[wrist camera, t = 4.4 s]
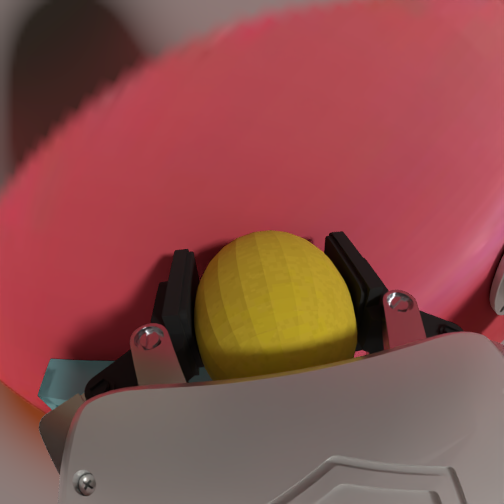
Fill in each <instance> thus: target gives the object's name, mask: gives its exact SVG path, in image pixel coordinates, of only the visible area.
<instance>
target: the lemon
mask: <svg viewBox="0 0 504 504" xmlns="http://www.w3.org/2000/svg"><path fill="white" fill-rule="evenodd" d="M194 328H195V334H196V339H197V343H198V348H199V352H200V355H201V359H202V362H203V364H204V367H205V369H206V371H207V372H208V374H209V376H210V378H211V379H212V380H213V381H217V380H227V379H237V378H245V377H253V376H261V375H268V374H274V373H281V372H287V371H293V370H299V369H304V368H310V367H315V366H320V365H325V364H330V363H334V362H339V361H343V360H348V359H352V358H354V354H355V349H356V344H357V324H356V318H355V313H354V308H353V304H352V300H351V296H350V293H349V290H348V288H347V285H346V283H345V281H344V279H343V278H342V276H341V275H340V273H339V272H338V270H337V269H336V267H335V266H334V264H333V263H332V261H331V260H330V259H329V258H328V256H327V255H325V254H324V253H323V252H322V251H321V250H320V249H318V248H317V247H316V246H314V245H313V244H312V243H310V242H309V241H307V240H306V239H304V238H301V237H298V236H296V235H293V234H290V233H288V232H281V231H272V230H269V231H260V232H253V233H250V234H247V235H245V236H242V237H239V238H237V239H235V240H234V241H232V242H231V243H229V244H228V245H226V246H224V247H223V248H222V249H221V250H220V251H219V252H218V254H217V255H216V256H215V257H214V258H213V259H212V260H211V261H210V263H209V264H208V266H207V268H206V270H205V272H204V274H203V276H202V278H201V280H200V282H199V285H198V289H197V294H196V300H195V307H194Z"/></svg>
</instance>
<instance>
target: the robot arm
mask: <svg viewBox="0 0 504 504" xmlns="http://www.w3.org/2000/svg"><path fill="white" fill-rule="evenodd" d="M324 254H325V255H327V256H328V258H329V259H330V260H331V261H332V263H333V264H334V266H335V267H336V269H337V270H338V272H339V273H340V275H341V276H342V278H343V279H344V281H345V283H346V285H347V288H348V290H349V293H350V296H351V300H352V304H353V308H354V313H355V318H356V324H357V344H356V349H355V351H360V350H364V351H366V355H364V356H360V357H356V358H352V359H348V360H343V361H339V362H334V363H330V364H325V365H320V366H315V367H310V368H304V369H299V370H293V371H287V372H281V373H274V374H268V375H261V376H253V377H245V378H237V379H227V380H217V381H205V382H192V383H189V380H190V379H191V378H192V377H194V376H197V375H199V368H201V367H204V364H203V362H202V359H201V355H200V352H199V348H198V343H197V339H196V334H195V328H194V307H195V300H196V294H197V289H198V285H199V282H200V281H199V276H198V272H197V267H196V262H195V257H194V253H193V252H189V251H188V249H183V250H175V252H174V256H173V261H172V266H171V270H170V275H169V280H168V281H166V282H160V283H159V286H158V291H157V295H156V299H155V304H154V309H153V313H152V318H151V323H150V324H145V325H143V326H140V327H139V328H138V329H136V330H135V331H134V332H133V334H132V335H131V338H130V347H131V350H129V351H128V352H127V353H125V354H124V355H122V356H121V357H120V358H118V359H117V360H116V361H114V362H113V363H112V364H110V365H109V366H108V367H106V368H105V369H103V370H102V371H101V372H99V373H98V374H97V375H95V376H94V377H93V378H92V379H90V380H89V381H88V383H87V385H86V387H85V390H84V393H83V394H82V395H80V394H79V393H78V394H76V395H75V396H73V397H71V398H70V399H68V400H67V401H65V402H64V403H62V404H61V405H59V406H58V407H56V408H55V409H53V410H52V411H50V412H49V413H47V414H46V415H45V416H44V417H43V418H42V419H41V421H40V423H39V431H40V434H41V437H42V439H43V442H44V444H45V446H46V448H47V450H48V453H49V454H50V457H51V459H52V461H53V463H54V465H55V467H56V469H57V471H58V473H59V474H60V481H59V494H58V504H504V345H502V344H500V343H498V342H495V341H492V340H489V339H488V338H487V337H485V336H483V335H481V334H478V333H474V332H464V331H463V330H462V328H460V327H459V326H458V325H456V324H454V323H452V322H449V321H446V320H444V319H441V318H438V317H436V316H433V315H430V314H427V313H425V312H422V311H419V308H418V305H417V302H416V300H415V298H414V297H413V296H412V295H410V294H409V293H407V292H405V291H402V290H391V291H388V289H387V288H386V287H385V285H384V284H383V282H382V281H381V280H380V278H379V277H378V275H377V274H376V273H375V271H374V270H373V269H372V267H371V266H370V264H369V263H368V262H367V260H366V259H365V258H363V257H362V256H361V254H360V253H359V252H358V250H357V249H356V248H355V246H354V245H353V244H352V243H351V241H350V240H349V239H348V237H347V236H346V235H345V234H344V232H342V231H341V232H332V233H330V234H329V236H326V238H325V250H324ZM490 305H491V307H492V309H493V310H494V311H495V312H496V313H497V314H498V315H504V254H503V256H502V259H501V261H500V263H499V266H498V268H497V271H496V274H495V276H494V279H493V283H492V287H491V291H490Z"/></svg>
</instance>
